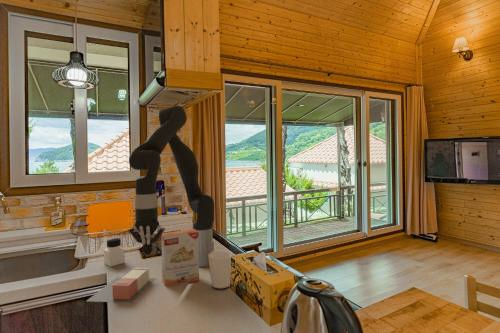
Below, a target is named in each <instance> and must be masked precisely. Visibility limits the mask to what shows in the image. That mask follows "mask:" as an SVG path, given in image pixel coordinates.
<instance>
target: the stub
mask: <svg viewBox="0 0 500 333" xmlns="http://www.w3.org/2000/svg"><path fill="white" fill-rule="evenodd" d="M112 289H113V299H125V300H129V299H130V298H131V297H132V296H133V295H134V294H135V293H136V292H137V278H121V279H120V280H118V281H117V282H116V283H115V284H113V285H112Z"/></svg>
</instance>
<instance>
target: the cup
mask: <svg viewBox="0 0 500 333" xmlns="http://www.w3.org/2000/svg"><path fill="white" fill-rule="evenodd" d="M232 257H233V258H234V253H233V252H232V251H230V250H214V252H211V253H209V254H208V258H209V266H208V267H209V273H210V280H211V282H210V283H211V287H212V288H213V289H218V290H219V291H221V290H223V289H228V288H230V286H231V285H230V273H231V258H232Z"/></svg>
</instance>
